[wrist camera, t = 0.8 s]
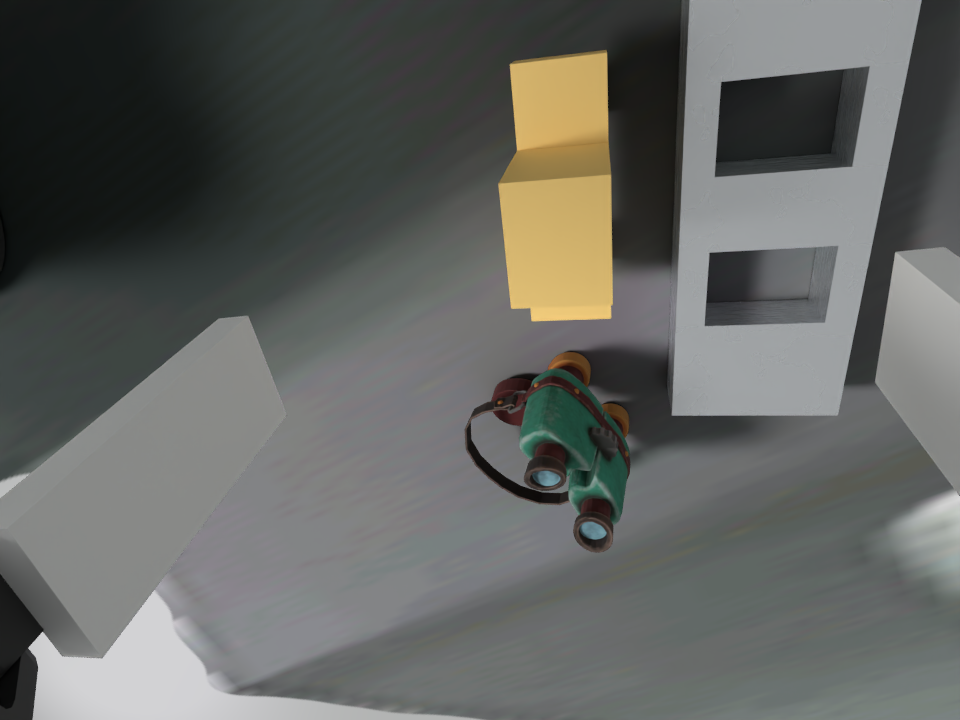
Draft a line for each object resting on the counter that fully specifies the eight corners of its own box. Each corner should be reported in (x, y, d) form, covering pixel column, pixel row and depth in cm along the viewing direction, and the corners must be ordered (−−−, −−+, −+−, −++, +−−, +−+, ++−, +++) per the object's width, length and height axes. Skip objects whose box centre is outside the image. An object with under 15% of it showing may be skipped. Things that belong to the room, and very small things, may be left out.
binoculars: (411, 499, 34) (557, 436, 29) (462, 390, 42) (582, 326, 37) (507, 597, 37) (656, 555, 31) (537, 476, 45) (658, 428, 40)
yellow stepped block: (609, 273, 36) (613, 381, 25) (540, 277, 36) (518, 382, 26) (605, 44, 30) (609, 64, 20) (524, 55, 31) (487, 78, 20)
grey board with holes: (666, 388, 39) (671, 415, 36) (683, -65, 27) (692, -73, 25) (821, 387, 37) (837, 415, 34) (909, -100, 25) (944, -112, 23)
